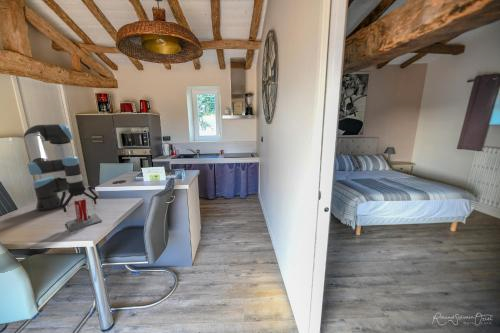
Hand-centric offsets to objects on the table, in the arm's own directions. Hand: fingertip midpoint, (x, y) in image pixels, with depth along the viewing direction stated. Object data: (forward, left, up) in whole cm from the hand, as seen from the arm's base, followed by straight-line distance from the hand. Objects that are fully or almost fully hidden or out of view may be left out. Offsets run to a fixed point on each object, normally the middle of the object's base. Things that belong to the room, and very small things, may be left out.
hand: (82, 212), depth 132 cm
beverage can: (0, 0, -6) cm, 6 cm away
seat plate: (0, 0, -7) cm, 7 cm away
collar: (0, 0, -7) cm, 7 cm away
